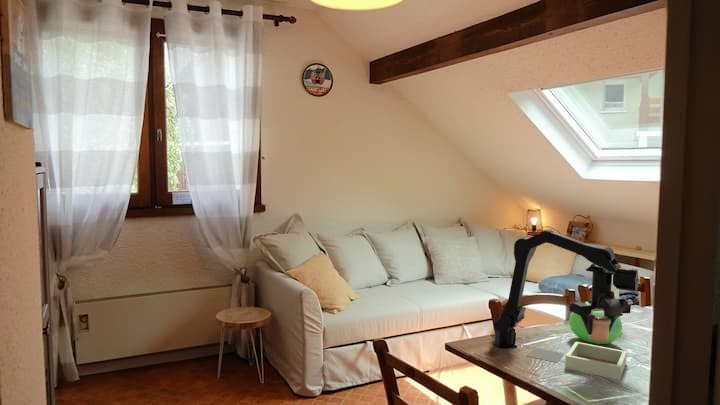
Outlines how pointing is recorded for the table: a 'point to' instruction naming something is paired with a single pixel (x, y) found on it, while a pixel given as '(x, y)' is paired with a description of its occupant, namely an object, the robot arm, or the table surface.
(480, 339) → the table surface
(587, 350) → the pale green square tray
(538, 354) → the slate pad
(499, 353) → the table surface
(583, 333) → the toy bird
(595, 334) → the terracotta pot
